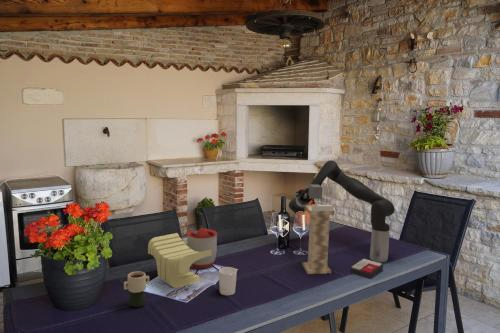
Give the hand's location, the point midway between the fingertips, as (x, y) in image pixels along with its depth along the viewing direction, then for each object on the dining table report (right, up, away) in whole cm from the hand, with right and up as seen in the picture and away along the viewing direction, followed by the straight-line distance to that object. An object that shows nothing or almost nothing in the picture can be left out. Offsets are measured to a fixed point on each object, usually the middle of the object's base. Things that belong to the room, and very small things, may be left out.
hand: (311, 189), depth 217 cm
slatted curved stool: (-66, -42, -26) cm, 82 cm away
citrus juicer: (-58, -39, -5) cm, 70 cm away
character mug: (-79, -45, -50) cm, 104 cm away
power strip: (+2, -10, -17) cm, 19 cm away
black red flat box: (+26, -42, -9) cm, 50 cm away
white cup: (-43, -44, -37) cm, 71 cm away
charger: (0, -3, -2) cm, 4 cm away
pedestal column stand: (+1, -41, -8) cm, 41 cm away
